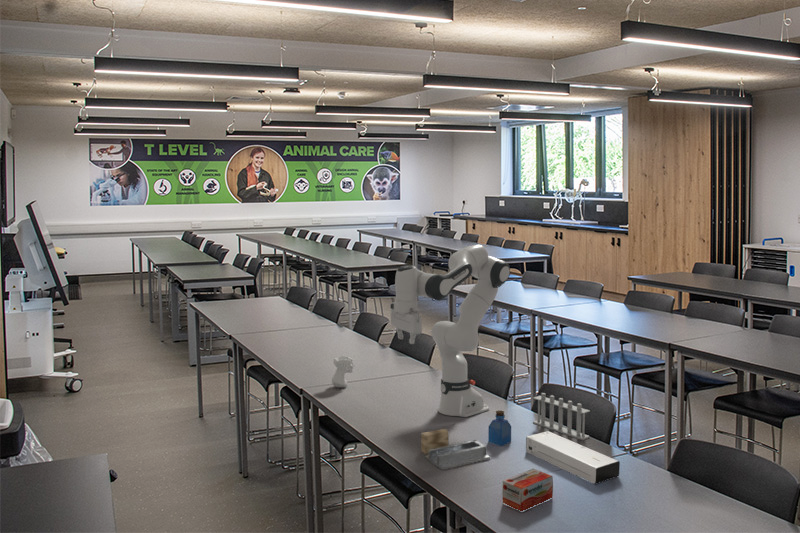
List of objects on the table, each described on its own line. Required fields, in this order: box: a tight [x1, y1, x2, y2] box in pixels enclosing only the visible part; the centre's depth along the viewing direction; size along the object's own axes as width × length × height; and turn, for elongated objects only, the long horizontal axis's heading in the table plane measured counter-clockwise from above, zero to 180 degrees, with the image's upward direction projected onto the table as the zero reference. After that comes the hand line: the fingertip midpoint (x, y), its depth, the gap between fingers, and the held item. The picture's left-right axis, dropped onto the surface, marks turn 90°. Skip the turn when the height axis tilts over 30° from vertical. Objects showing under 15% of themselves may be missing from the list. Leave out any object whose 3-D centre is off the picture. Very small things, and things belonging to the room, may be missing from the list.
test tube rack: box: [532, 392, 591, 441], centre depth 275 cm, size 25×4×13 cm, turn 39°
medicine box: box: [501, 468, 554, 511], centre depth 213 cm, size 15×8×8 cm, turn 130°
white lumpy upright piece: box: [331, 355, 355, 388], centre depth 335 cm, size 10×11×15 cm
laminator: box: [525, 430, 621, 485], centre depth 242 cm, size 34×12×6 cm, turn 32°
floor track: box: [425, 439, 491, 471], centre depth 247 cm, size 20×12×4 cm, turn 118°
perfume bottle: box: [487, 410, 512, 447], centre depth 263 cm, size 6×6×12 cm
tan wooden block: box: [420, 428, 449, 455], centre depth 256 cm, size 10×3×7 cm, turn 118°
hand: (406, 341), depth 270 cm, fingers open, 8 cm apart
